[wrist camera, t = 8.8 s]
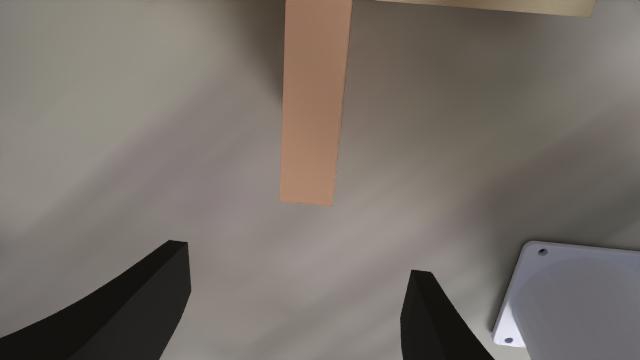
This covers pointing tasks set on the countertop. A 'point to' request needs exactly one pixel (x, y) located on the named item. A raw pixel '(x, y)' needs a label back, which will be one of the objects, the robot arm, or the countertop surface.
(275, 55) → the countertop surface
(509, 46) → the countertop surface
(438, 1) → the birch slotted plate
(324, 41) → the terracotta slotted plate
